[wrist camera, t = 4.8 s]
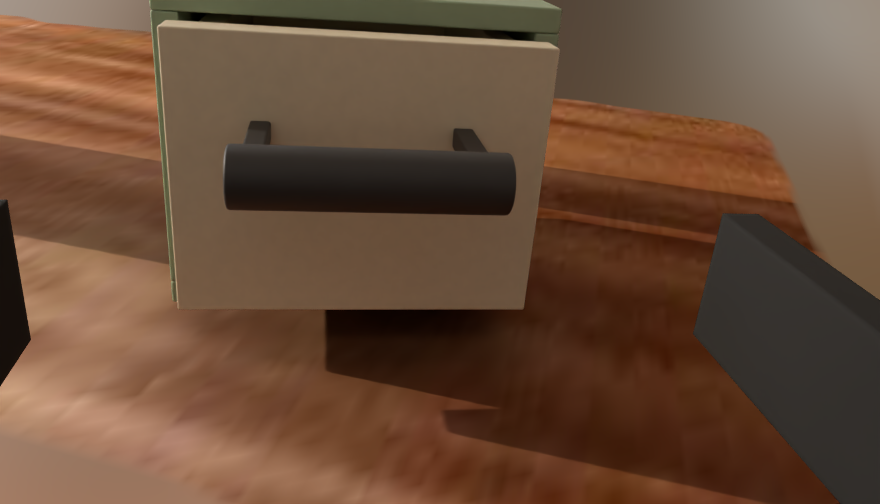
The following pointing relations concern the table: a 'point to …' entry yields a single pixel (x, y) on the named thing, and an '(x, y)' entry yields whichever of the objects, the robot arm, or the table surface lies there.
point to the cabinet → (403, 3)
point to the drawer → (352, 163)
